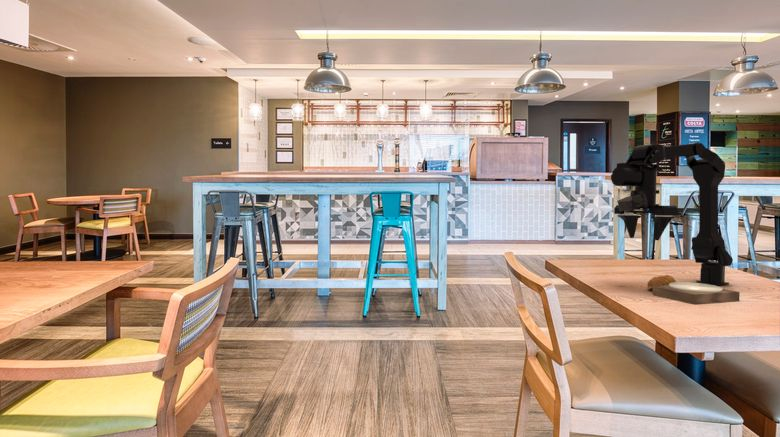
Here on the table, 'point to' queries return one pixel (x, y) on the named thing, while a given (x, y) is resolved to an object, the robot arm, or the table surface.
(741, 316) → the table surface
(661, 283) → the pastry
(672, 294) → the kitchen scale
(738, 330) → the table surface
